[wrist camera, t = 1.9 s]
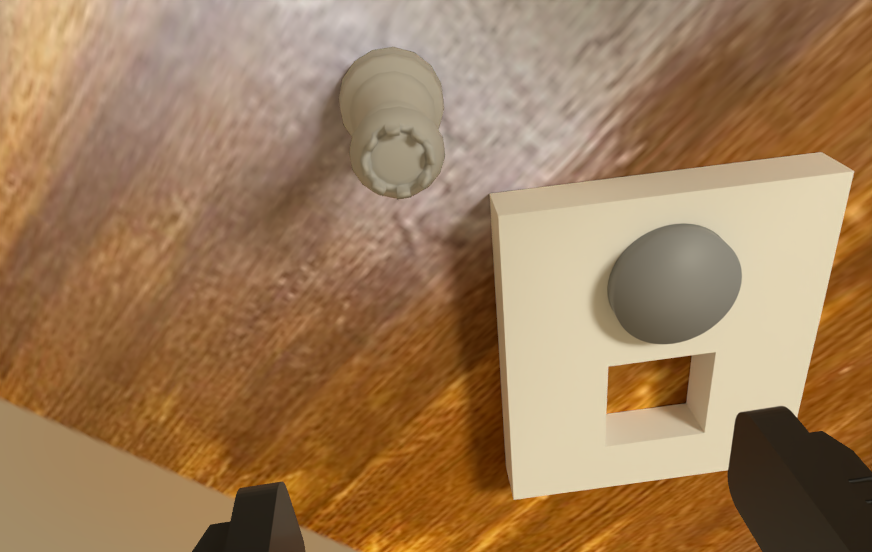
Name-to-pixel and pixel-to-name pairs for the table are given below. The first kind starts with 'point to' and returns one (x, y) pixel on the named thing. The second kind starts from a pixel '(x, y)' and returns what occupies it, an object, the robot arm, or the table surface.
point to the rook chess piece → (393, 121)
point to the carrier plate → (657, 312)
